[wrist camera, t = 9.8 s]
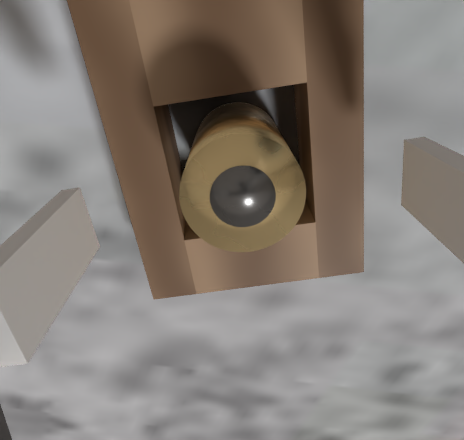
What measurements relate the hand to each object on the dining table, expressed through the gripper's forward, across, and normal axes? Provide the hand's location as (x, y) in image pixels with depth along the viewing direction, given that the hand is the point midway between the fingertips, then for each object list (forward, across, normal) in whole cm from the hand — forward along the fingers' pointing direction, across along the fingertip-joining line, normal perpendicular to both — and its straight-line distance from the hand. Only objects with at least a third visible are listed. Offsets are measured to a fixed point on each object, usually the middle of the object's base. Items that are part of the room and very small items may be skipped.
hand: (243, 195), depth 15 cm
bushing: (+8, 0, 0) cm, 8 cm away
